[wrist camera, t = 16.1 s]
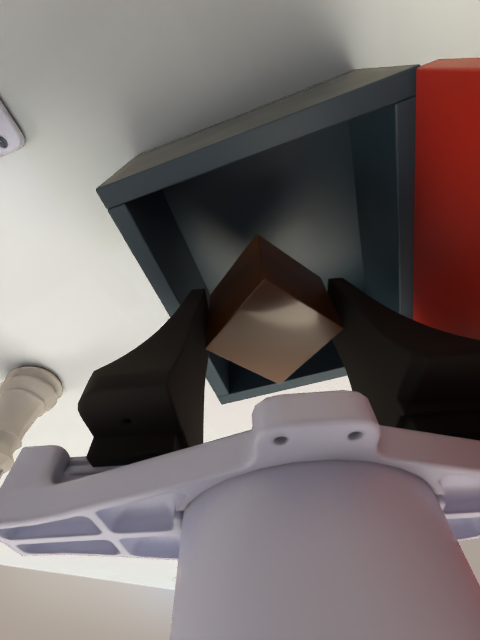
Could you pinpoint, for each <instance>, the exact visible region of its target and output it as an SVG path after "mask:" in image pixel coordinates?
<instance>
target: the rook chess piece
mask: <svg viewBox="0 0 480 640" xmlns="http://www.w3.org/2000/svg"><path fill="white" fill-rule="evenodd" d="M62 392H63V389H62V386H61V383H60V381H59V379H58V378H57V377H56V376H55V375H54V374H53V373H51V372H49V371H47V370H46V369H43V368H39V367H35V366H25V367H21V368H18V369H14V370H11V371H10V372H9V373H8V374H7V375H6V380H5V381H4V382H2V383H1V386H0V478H1V476H2V474H3V473H5V472H7V471H9V470H10V469H11V468H12V466H13V465H14V460H13V452H14V451H15V450H17V449H18V448H20V447H21V445H22V441H21V440H22V438H23V436H24V435H25V433H26V432H27V430H28V429H29V428H30V427H31V425H32V424H33V423H34V421H35V420H36V419H37V418H38V417H40V416H42V415H43V414H44V413H45V412H47V411H49V410H50V409H51V408H52V407H54V406H55V405H56V403H57V399H58V398H60V397H61V396H62Z"/></svg>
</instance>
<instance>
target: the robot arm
mask: <svg viewBox="0 0 480 640" xmlns="http://www.w3.org/2000/svg"><path fill="white" fill-rule="evenodd" d="M1 136H2V137H4V138H5V139H6V140H7V143H8V146H5V145H4V144H3V143H2V142H1ZM24 144H25V139H24V136H23V134H22V133H21V131H20V129H19V128H18V126H17V125H16V123H15V122H14V120H13V119H12V117H11V116H10V114H9V113H8V111H7V110H6V108H5V107H4V105H3V104H2V102H1V101H0V157H1V156H4V155H6V154H8V153H11V152H13V151H15V150H18V149H20V148H22V147H23V146H24ZM327 293H328V295H329V297H330V300H331V302H332V304H333V306H334V308H335V310H336V312H337V314H338V316H339V318H340V320H341V322H342V325H343V327H344V329H343V330H342V331H340V332H339V333H338V334H337V335H336V336H335V337H334V338H332V340H333V342H334V345H335V347H336V349H337V351H338V354H339V356H340V358H341V360H342V363H343V365H344V367H345V370H346V372H347V375H348V378H349V381H350V384H351V387H352V391H345V390H340V391H326V392H311V393H297V394H283V395H276V396H272V397H268V398H265V399H264V400H263V401H261V402H260V403H259V404H257V405H256V406H255V408H254V410H253V413H252V424H253V426H252V429H251V430H249V431H245V432H242V433H238V434H234V435H231V436H227V437H224V438H220V439H217V440H213V441H210V442H206V443H203V418H204V387H205V378H206V371H207V364H208V358H209V351H208V350H206V349H205V342H206V331H207V325H208V315H209V308H208V302H207V296H206V290H205V289H192V290H191V291H190V293H189V294H188V295H187V297H186V298H185V300H184V301H183V302H182V304H181V305H180V306H179V308H178V309H177V310H176V311H175V313H174V314H173V315H172V316H171V317H170V319H169V320H168V321H167V322H166V323H165V324H164V325H163V326H162V327H161V328H160V329H159V330H158V331H157V332H156V333H155V334H154V335H152V336H151V337H150V338H149V339H148V340H146V341H145V342H144V343H142V344H141V345H139V346H138V347H137V348H135V349H134V350H132V351H131V352H129V353H128V354H126V355H124V356H123V357H121V358H119V359H117V360H116V361H114V362H112V363H110V364H108V365H106V366H104V367H102V368H100V369H98V370H95V371H94V372H93V374H92V376H91V377H90V379H89V381H88V383H87V385H86V387H85V389H84V392H83V394H82V396H81V398H80V400H79V403H78V411H79V414H80V416H81V418H82V419H83V421H84V422H85V424H86V425H87V427H88V428H89V430H90V432H91V433H92V435H93V436H94V438H93V441H92V443H91V446H90V449H89V451H88V454H87V456H85V457H70V456H69V454H68V453H67V451H66V450H65V449H64V448H62V447H60V446H56V445H48V446H33V447H25V448H23V449H22V450H21V452H20V454H19V456H18V458H17V459H16V461H15V463H14V465H13V466H12V468H11V470H10V472H9V474H8V475H7V477H6V479H5V481H4V483H3V484H2V486H1V488H0V541H1V542H2V543H4V544H5V545H7V546H8V547H10V548H11V549H13V550H14V551H16V552H17V553H19V554H20V555H22V556H39V555H88V556H110V557H127V558H145V559H162V560H178V567H177V577H176V586H175V596H174V605H173V615H172V624H171V634H170V640H480V586H479V584H478V582H477V580H476V578H475V576H474V574H473V572H472V569H471V567H470V566H469V563H468V561H467V559H466V557H465V555H464V553H463V551H462V550H461V547H460V545H459V543H458V541H462V540H468V539H474V538H480V340H476V339H472V338H467V337H463V336H459V335H455V334H452V333H448V332H445V331H441V330H438V329H435V328H432V327H430V326H427V325H424V324H422V323H419V322H417V321H414V320H412V319H410V318H407V317H405V316H403V315H401V314H399V313H397V312H395V311H393V310H391V309H389V308H388V307H386V306H384V305H383V304H381V303H379V302H378V301H376V300H374V299H373V298H371V297H370V296H368V295H367V294H365V293H364V292H362V291H361V290H360V289H358V288H357V287H355V286H354V285H352V284H351V283H350V282H348V281H347V280H345V279H344V278H332V279H329V280H328V289H327Z"/></svg>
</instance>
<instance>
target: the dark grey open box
mask: <svg viewBox="0 0 480 640" xmlns="http://www.w3.org/2000/svg"><path fill="white" fill-rule="evenodd" d="M418 67H420V65H406V66H393V67H380V68H367V69H357V70H353V71H350V72H347V73H345V74H342V75H340V76H337V77H335V78H332V79H330V80H327V81H325V82H322V83H320V84H317V85H315V86H312V87H310V88H307V89H305V90H302V91H299V92H297V93H294V94H292V95H289V96H287V97H284V98H282V99H279V100H277V101H274V102H272V103H269V104H267V105H264V106H262V107H259V108H256V109H254V110H251V111H249V112H246V113H244V114H241V115H239V116H236V117H234V118H231V119H229V120H226V121H224V122H221V123H219V124H216V125H214V126H211V127H208V128H206V129H203V130H201V131H198V132H196V133H193V134H191V135H188V136H186V137H183V138H181V139H178V140H176V141H173V142H171V143H168V144H165V145H163V146H160V147H158V148H155V149H153V150H150V151H148V152H145V153H143V154H140V155H138V156H136V157H134V158H133V159H132V160H131V161H129V162H128V163H127V164H126V165H124V166H123V167H122V168H121V169H120V170H118V171H117V172H116V173H115V174H114V175H112V176H111V177H110V178H109V179H107V180H106V181H105V182H104V183H103V184H101V185H100V186H99V187H98V188H97V189H96V192H97V193H98V195H99V197H100V198H101V200H102V202H103V203H104V205H105V207H106V208H107V209H108V212H109V214H110V215H111V217H112V219H113V221H114V222H115V224H116V226H117V227H118V229H119V231H120V232H121V234H122V236H123V238H124V239H125V241H126V243H127V244H128V246H129V248H130V249H131V251H132V253H133V255H134V256H135V258H136V260H137V261H138V263H139V265H140V266H141V268H142V270H143V271H144V273H145V275H146V277H147V278H148V280H149V282H150V283H151V285H152V287H153V288H154V290H155V292H156V294H157V295H158V297H159V299H160V300H161V302H162V304H163V305H164V307H165V309H166V311H167V312H168V314H169V316H170V317H171V316H172V315H173V314H174V313H175V311H176V310H177V309H178V308H179V306H180V305H181V304H182V302H183V301H184V300H185V298H186V297H187V295H188V294H189V293H190V291H191V290H192V289H205V290H206V296H207V302H208V308H209V298H210V294H211V293H212V292H213V290H214V289H215V288H216V286H217V285H218V284H219V283H220V281H221V280H222V279H223V277H224V276H225V275H226V273H227V272H228V271H229V269H230V268H231V267H232V265H233V264H234V263H235V262H236V260H237V259H238V258H239V256H240V255H241V254H242V252H243V251H244V250H245V248H246V247H247V246H248V244H249V243H250V242H251V240H252V239H253V238H254V237H255V235H256V234H258V235H259V236H261V237H262V238H264V239H265V240H267V241H268V242H270V243H271V244H273V245H274V246H275V247H277V248H278V249H280V250H281V251H283V252H284V253H286V254H287V255H289V256H290V257H292V258H293V259H294V260H296V261H297V262H299V263H300V264H302V265H303V266H305V267H306V268H308V269H309V270H311V271H312V272H313V273H315V274H316V275H318V276H319V277H321V279H322V281H323V283H324V286H325V288H326V290H327V289H328V280H329V279H332V278H344V279H345V280H347V281H348V282H350V283H351V284H352V285H354V286H355V287H357V288H358V289H360V290H361V291H362V292H364V293H365V294H367V295H368V296H370V297H371V298H373V299H374V300H376V301H378V302H379V303H381V304H383V305H384V306H386V307H388V308H389V309H391V310H393V311H395V312H397V313H399V314H401V315H403V316H405V317H407V318H410V319H412V320H413V276H414V205H415V134H416V70H417V68H418ZM343 376H347V372H346V370H345V367H344V365H343V363H342V360H341V358H340V356H339V354H338V351H337V349H336V347H335V345H334V342H333V340H332V339H331V340H330V341H329V342H328V343H327V344H326V345H324V346H323V347H322V348H321V349H320V350H319V351H318V352H316V353H315V354H314V355H313V356H312V357H311V358H310V359H308V360H307V361H306V362H305V363H304V364H303V365H302V366H300V367H299V368H298V369H297V370H296V371H295V372H294V373H292V374H291V375H290V376H289V377H288V378H287V379H286V380H284V381H283V382H282V383H281V384H278V383H276V382H273V381H271V380H269V379H267V378H265V377H263V376H261V375H259V374H257V373H255V372H253V371H250V370H248V369H246V368H244V367H242V366H240V365H238V364H236V363H234V362H232V361H229V360H227V359H225V358H223V357H221V356H219V355H217V354H215V353H213V352H211V351H209V358H208V364H207V371H206V378H207V380H208V382H209V384H210V385H211V387H212V389H213V390H214V392H215V394H216V395H217V397H218V399H219V401H220V402H221V404H226V403H231V402H235V401H239V400H244V399H248V398H252V397H256V396H261V395H265V394H269V393H274V392H278V391H282V390H287V389H291V388H295V387H300V386H304V385H308V384H312V383H317V382H321V381H325V380H330V379H334V378H338V377H343Z"/></svg>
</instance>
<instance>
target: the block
mask: <svg viewBox="0 0 480 640" xmlns="http://www.w3.org/2000/svg"><path fill="white" fill-rule="evenodd" d="M343 329H344V327H343V325H342V322H341V320H340V318H339V316H338V314H337V312H336V310H335V308H334V306H333V304H332V302H331V300H330V297H329V295H328V293H327V290H326V288H325V286H324V283H323V281H322V279H321V277H319V276H318V275H316V274H315V273H313V272H312V271H311V270H309V269H308V268H306V267H305V266H303V265H302V264H300V263H299V262H297V261H296V260H294V259H293V258H292V257H290V256H289V255H287V254H286V253H284V252H283V251H281V250H280V249H278V248H277V247H275V246H274V245H273V244H271V243H270V242H268V241H267V240H265V239H264V238H262V237H261V236H259V235H258V234H256V235H255V237H254V238H253V239H252V240H251V242H250V243H249V244H248V246H247V247H246V248H245V250H244V251H243V252H242V254H241V255H240V256H239V258H238V259H237V260H236V262H235V263H234V264H233V265H232V267H231V268H230V269H229V271H228V272H227V273H226V275H225V276H224V277H223V279H222V280H221V281H220V283H219V284H218V285H217V286H216V288H215V289H214V290H213V292H212V293H211V294H210V298H209V315H208V325H207V331H206V342H205V349H206V350H208V351H211V352H213V353H215V354H217V355H219V356H221V357H223V358H225V359H227V360H229V361H232V362H234V363H236V364H238V365H240V366H242V367H244V368H246V369H248V370H250V371H253V372H255V373H257V374H259V375H261V376H263V377H265V378H267V379H269V380H271V381H273V382H276V383H278V384H281V383H282V382H283V381H284V380H286V379H287V378H288V377H289V376H290V375H291V374H292V373H294V372H295V371H296V370H297V369H298V368H299V367H300V366H302V365H303V364H304V363H305V362H306V361H307V360H308V359H310V358H311V357H312V356H313V355H314V354H315V353H316V352H318V351H319V350H320V349H321V348H322V347H323V346H324V345H326V344H327V343H328V342H329V341H330V340H331V339H332V338H334V337H335V336H336V335H337V334H338V333H339V332H340V331H342V330H343Z"/></svg>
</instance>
